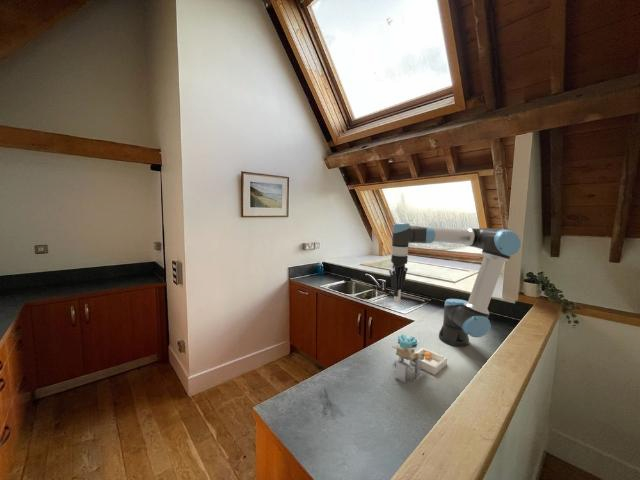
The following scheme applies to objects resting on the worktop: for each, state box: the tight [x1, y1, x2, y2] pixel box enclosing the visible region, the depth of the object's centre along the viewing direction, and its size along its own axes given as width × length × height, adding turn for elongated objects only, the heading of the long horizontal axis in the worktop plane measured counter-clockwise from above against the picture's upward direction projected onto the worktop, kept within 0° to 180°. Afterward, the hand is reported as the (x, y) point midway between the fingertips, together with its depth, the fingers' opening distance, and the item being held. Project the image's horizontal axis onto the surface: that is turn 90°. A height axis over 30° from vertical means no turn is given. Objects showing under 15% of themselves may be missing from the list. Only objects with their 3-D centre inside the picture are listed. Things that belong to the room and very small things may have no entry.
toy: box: [397, 334, 418, 349], centre depth 141 cm, size 10×5×15 cm
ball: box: [424, 352, 431, 359], centre depth 126 cm, size 3×3×3 cm
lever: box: [391, 345, 425, 361], centre depth 118 cm, size 15×14×3 cm
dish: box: [409, 347, 448, 376], centre depth 123 cm, size 12×12×4 cm
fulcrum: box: [394, 356, 424, 384], centre depth 114 cm, size 11×10×8 cm
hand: (396, 302), depth 129 cm, fingers closed
